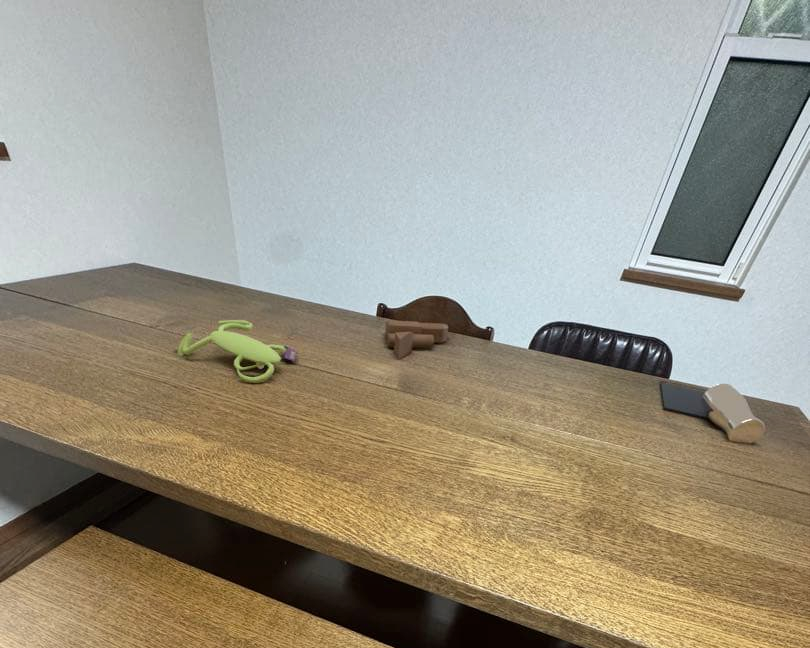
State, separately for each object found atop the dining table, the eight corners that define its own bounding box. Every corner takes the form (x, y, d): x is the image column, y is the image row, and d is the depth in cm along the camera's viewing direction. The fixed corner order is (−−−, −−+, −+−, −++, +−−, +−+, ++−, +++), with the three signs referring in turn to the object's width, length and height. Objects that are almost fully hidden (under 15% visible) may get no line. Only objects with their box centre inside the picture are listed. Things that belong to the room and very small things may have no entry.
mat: (727, 399, 113) (728, 397, 112) (739, 427, 100) (740, 425, 99) (660, 384, 116) (661, 382, 116) (663, 409, 103) (664, 407, 103)
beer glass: (727, 452, 93) (700, 416, 104) (767, 440, 91) (735, 404, 101) (726, 425, 89) (698, 390, 100) (768, 412, 86) (735, 377, 97)
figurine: (235, 336, 113) (232, 312, 109) (316, 366, 103) (315, 340, 99) (169, 352, 100) (163, 326, 97) (253, 387, 90) (250, 359, 87)
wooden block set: (382, 315, 120) (447, 318, 124) (381, 338, 124) (443, 340, 128) (395, 335, 107) (466, 338, 112) (393, 359, 111) (462, 361, 115)
